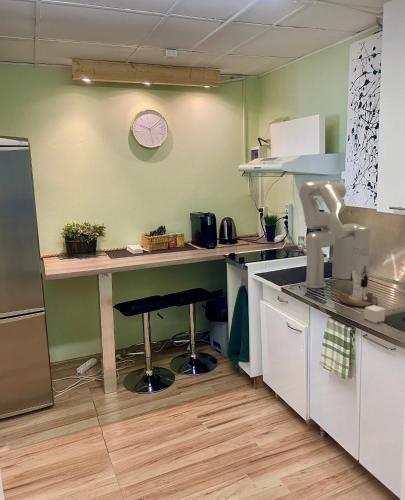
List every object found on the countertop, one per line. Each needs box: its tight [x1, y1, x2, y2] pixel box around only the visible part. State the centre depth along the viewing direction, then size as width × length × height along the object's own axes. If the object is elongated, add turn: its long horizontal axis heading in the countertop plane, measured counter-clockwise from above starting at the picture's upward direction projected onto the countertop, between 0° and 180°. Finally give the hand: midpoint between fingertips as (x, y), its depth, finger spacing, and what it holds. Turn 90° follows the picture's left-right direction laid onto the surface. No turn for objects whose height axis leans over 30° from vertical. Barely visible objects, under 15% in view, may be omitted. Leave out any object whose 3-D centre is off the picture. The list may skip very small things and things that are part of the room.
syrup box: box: [350, 270, 367, 300], centre depth 210 cm, size 6×6×14 cm
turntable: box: [339, 291, 378, 307], centre depth 211 cm, size 18×18×6 cm
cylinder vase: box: [331, 236, 354, 281], centre depth 254 cm, size 12×12×25 cm
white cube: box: [363, 304, 386, 323], centre depth 187 cm, size 6×6×6 cm
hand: (358, 283), depth 210 cm, fingers open, 9 cm apart
